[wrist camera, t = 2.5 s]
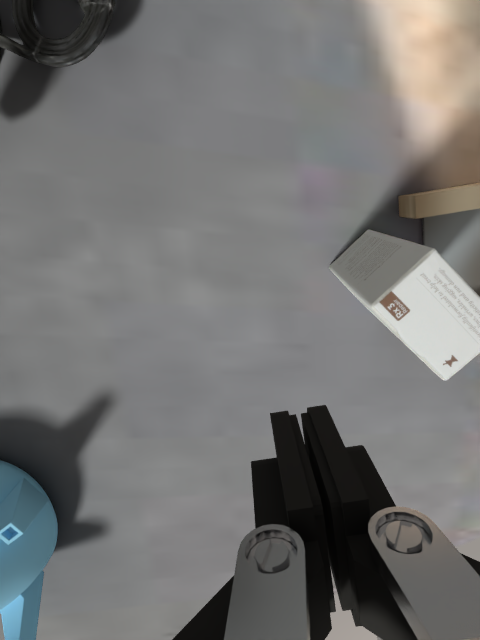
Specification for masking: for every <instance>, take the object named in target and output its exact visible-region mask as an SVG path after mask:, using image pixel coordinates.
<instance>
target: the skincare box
mask: <svg viewBox="0 0 480 640" xmlns="http://www.w3.org/2000/svg"><path fill="white" fill-rule="evenodd" d="M329 269H330V270H331V271H332V272H333V273H334V274H335V276H336V277H337V278H338V279H339V280H340V281H341V282H342V283H343V284H344V285H345V286H346V287H347V288H348V289H349V290H350V292H351V293H352V294H353V295H354V296H355V297H356V298H357V299H358V300H359V301H360V302H361V303H362V304H363V305H364V306H365V307H366V308H367V309H368V310H369V311H370V312H371V313H372V314H373V315H374V316H376V317H377V318H378V319H379V320H380V321H381V322H382V323H383V324H384V325H385V326H386V327H387V328H388V329H389V330H390V331H391V332H392V333H393V334H395V335H396V336H397V337H398V338H399V339H400V340H401V341H402V342H403V343H404V344H405V345H406V346H407V347H408V348H409V349H410V350H411V351H412V352H413V353H415V354H416V355H417V356H418V357H419V358H420V359H421V360H422V361H423V362H424V363H425V364H426V365H427V366H428V367H429V368H430V369H431V370H432V371H433V372H434V373H436V374H437V375H438V376H439V377H440V378H441V379H442V380H448V379H449V378H450V377H451V376H453V375H454V374H455V373H456V372H458V371H459V370H460V369H461V368H462V367H464V366H465V365H466V364H467V363H468V362H469V361H471V360H472V359H473V358H474V357H475V356H476V355H478V354H479V353H480V296H479V295H478V294H477V293H476V292H475V291H474V290H473V289H472V288H471V287H470V286H469V285H468V284H467V283H466V281H465V280H464V279H463V278H462V277H461V276H460V275H459V274H458V273H457V272H456V271H455V270H454V269H453V268H452V267H451V266H450V265H449V263H448V262H447V261H446V260H445V259H444V258H443V257H442V256H441V255H440V254H439V253H438V252H437V250H436V249H434V248H431V247H427V246H424V245H420V244H417V243H414V242H411V241H407V240H404V239H401V238H397V237H394V236H390V235H387V234H383V233H380V232H376V231H373V230H369V229H368V230H367V231H366V232H365V233H364V234H363V235H361V236H360V237H359V238H358V239H357V240H356V241H355V242H354V243H353V244H352V245H351V246H350V247H349V248H348V249H347V250H346V251H345V252H344V253H343V254H342V255H341V256H340V257H339V258H338V259H336V260H335V261H334V262H333V263H332V264H331V265H330V266H329Z"/></svg>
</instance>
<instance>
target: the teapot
mask: <svg viewBox="0 0 480 640" xmlns="http://www.w3.org/2000/svg"><path fill="white" fill-rule="evenodd" d="M57 535H58V523H57V518H56V514H55V511H54V508H53V506H52V504H51V502H50V500H49V498H48V496H47V494H46V493H45V491H44V490H43V488H42V487H41V486H40V485H39V483H38V482H37V481H36V480H35V479H34V478H33V477H31V476H30V475H29V474H28V473H26V472H25V471H23V470H22V469H20V468H18V467H16V466H15V465H12V464H10V463H8V462H5V461H1V460H0V613H1V616H2V623H3V629H4V636H5V640H36V633H37V624H38V616H39V608H40V600H41V592H42V584H43V576H44V572H43V571H42V570H43V569H44V567H45V566H46V564H47V563H48V561H49V559H50V557H51V556H52V554H53V552H54V549H55V546H56V542H57Z"/></svg>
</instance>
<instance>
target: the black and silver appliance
mask: <svg viewBox="0 0 480 640" xmlns="http://www.w3.org/2000/svg"><path fill="white" fill-rule="evenodd" d="M77 1H78V2H79V4H80V7H81V9H82V10H83V12H84V13H85V15H84V18H83V20H82V22H81V24H80V25H79V27H78V28H77V29H76V30H75V32H73V33H72V34H71V35H70V36H67V37H65V38H62V39H48V38H45V37H43V36H41V35H40V33H39V32H38V30H37V28H36V24H35V21H34V15H33V0H12V11H13V18H14V21H15V26H16V29H17V31H18V34H19V36H20V38H21V39H22V41H23V44H24V45H21V44H19V43H17V42H15V41H13V40H11V39H10V38H8V37H6V36H4V35H2V33H1V32H2V30H1V22H0V49H1V47H2V48H4V49H7V50H9V51H11V52H13V53H15V54H18V55H19V56H22V57H25V58H27V59H30V60H32V61H35V62H38V63H41V64H45V65H49V66H54V67H65V66H69V65H73V64H76V63H78V62H80V61H82V60H83V59H85V58H87V57H88V56H89V55H90V54H91V53H92V52H93V51H94V50H95V49H96V47H97V46H98V45H99V44H100V42H101V41H102V39H103V37H104V36H105V34H106V32H107V29H108V26H109V24H110V21H111V18H112V15H113V10H114V6H115V1H116V0H77Z"/></svg>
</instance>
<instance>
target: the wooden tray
mask: <svg viewBox="0 0 480 640" xmlns="http://www.w3.org/2000/svg"><path fill="white" fill-rule="evenodd" d="M398 198H399V217H406V218H414V219H418V218H422V223H423V245H424V246H427V247H431V248H434V249H436V250H437V252H438V253H439V254H440V255H441V256H442V257H443V258H444V259H445V260H446V261H447V262H448V263H449V265H450V266H451V267H452V268H453V269H454V270H455V271H456V272H457V273H458V274H459V275H460V276H461V277H462V278H463V279H464V280H465V281H466V283H467V284H468V285H469V286H470V287H471V288H472V289H473V290H474V291H475V292H476V293H477V294H478V295H479V296H480V183H475V184H468V185H462V186H456V187H450V188H444V189H438V190H432V191H426V192H420V193H414V194H408V195H402V196H398Z"/></svg>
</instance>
